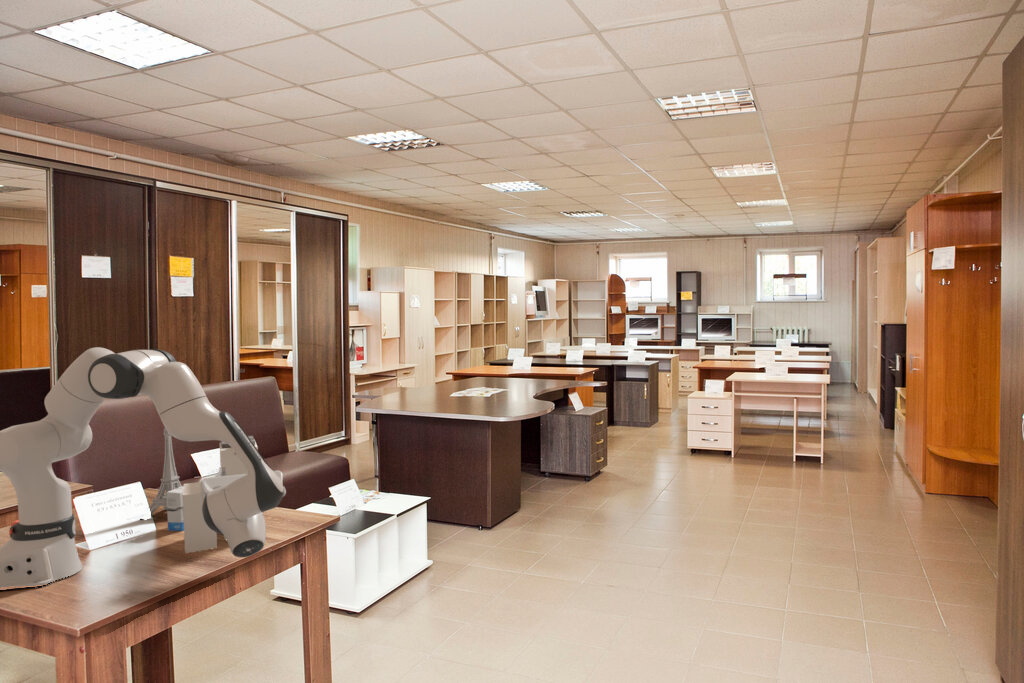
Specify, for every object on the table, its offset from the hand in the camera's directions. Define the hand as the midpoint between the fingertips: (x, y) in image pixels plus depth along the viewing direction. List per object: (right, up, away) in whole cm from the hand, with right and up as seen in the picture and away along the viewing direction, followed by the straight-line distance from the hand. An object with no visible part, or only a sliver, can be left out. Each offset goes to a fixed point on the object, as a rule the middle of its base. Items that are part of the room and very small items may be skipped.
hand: (241, 466), depth 184 cm
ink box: (-27, -23, +24) cm, 43 cm away
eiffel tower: (-38, -23, +38) cm, 59 cm away
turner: (-6, +3, +14) cm, 15 cm away
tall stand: (-7, -23, +18) cm, 30 cm away
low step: (-15, -23, +8) cm, 29 cm away
